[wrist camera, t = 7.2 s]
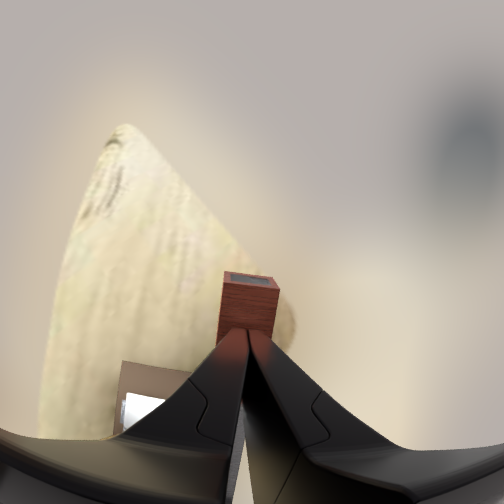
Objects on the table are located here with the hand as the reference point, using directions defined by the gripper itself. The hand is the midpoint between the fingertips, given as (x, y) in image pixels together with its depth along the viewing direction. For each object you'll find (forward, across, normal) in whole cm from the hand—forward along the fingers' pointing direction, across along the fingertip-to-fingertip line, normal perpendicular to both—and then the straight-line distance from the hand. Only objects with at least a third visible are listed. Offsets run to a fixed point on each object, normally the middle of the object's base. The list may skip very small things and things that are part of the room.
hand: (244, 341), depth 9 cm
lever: (-1, 0, +9) cm, 9 cm away
